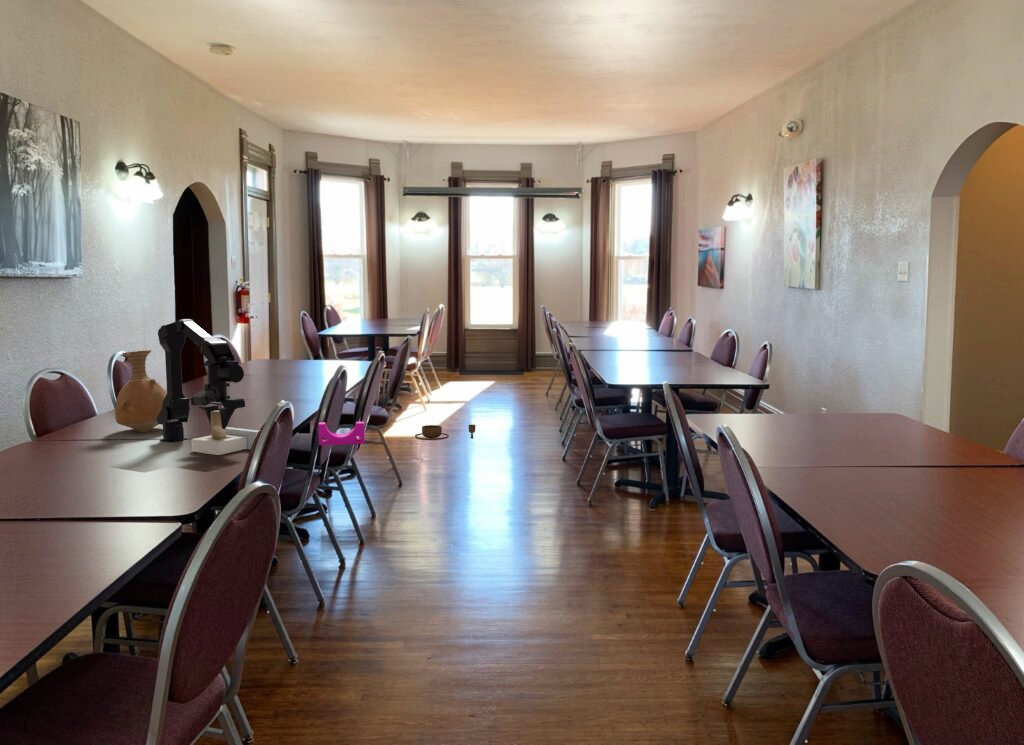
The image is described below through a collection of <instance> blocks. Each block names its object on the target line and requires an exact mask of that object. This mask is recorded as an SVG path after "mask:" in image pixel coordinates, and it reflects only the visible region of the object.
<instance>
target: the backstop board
mask: <svg viewBox="0 0 1024 745" xmlns="http://www.w3.org/2000/svg"><path fill="white" fill-rule="evenodd" d="M259 431H260V430H259V429H258V430H256V429H248V428H239V427H238V428H237V427H232V426H231V427H230V426H227V427H226V434H228V435H236V436H245V437H247V449H246V450H251V449H250V447H251V445H252V443H253V441H254V439H255V438H256V436H257V434H258V432H259Z"/></svg>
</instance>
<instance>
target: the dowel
mask: <svg viewBox="0 0 1024 745" xmlns="http://www.w3.org/2000/svg"><path fill="white" fill-rule="evenodd" d="M210 428H211V429H210V430H211V436H212V439H213V440H223V439H226V429H222V422H221V413H220V412H219V410H218V411H211V424H210Z"/></svg>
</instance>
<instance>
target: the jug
mask: <svg viewBox="0 0 1024 745" xmlns="http://www.w3.org/2000/svg"><path fill="white" fill-rule="evenodd" d="M151 352H152V350H150V349H148V350H147V349H146V350H137V351H126V352H121V354H122V355H123V356H125V357H126V358H127V359H128V361H129V364H130V367H131V377H130V379H129V380H128V381H127V382H125V384H124V385H123V386H122V387H121V389H120V391H119V392H118V395H117V398H116V402H115V405H114V406H115V407H114V408H115V409H114V417H115V422H116V423H117V424H118V425H120V426H124V427H127V428H130V429H133V430H135V431H137V432H139V433H148V432H150V431H151V430H152V429H153V428H155V427H157V426H158V425H160V424H158V422H157V417H158V415H159V413H160V412H161V410H162V402H163V400H164V398H165V397H166V395H167V391H166V390H165V388H163V387H162V385H161V384H159V382H157V380H156V379H155V378H150V377H149V376H148V374H147V370H146V361H147V357H148V355H149V354H150V353H151Z"/></svg>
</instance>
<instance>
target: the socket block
mask: <svg viewBox="0 0 1024 745" xmlns="http://www.w3.org/2000/svg"><path fill="white" fill-rule="evenodd" d="M190 441H191V452H192V453H193V452H195V453H200V454H209V455H214V456H221V455H225V454H230V453H234V452H238V451H243V449H244V450H248V449H247V437H245V436H236V435H228V434H226V439H223V440H213V439H212V436H211V435H206V436H202V437H196V438H192V439H191V440H190Z"/></svg>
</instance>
